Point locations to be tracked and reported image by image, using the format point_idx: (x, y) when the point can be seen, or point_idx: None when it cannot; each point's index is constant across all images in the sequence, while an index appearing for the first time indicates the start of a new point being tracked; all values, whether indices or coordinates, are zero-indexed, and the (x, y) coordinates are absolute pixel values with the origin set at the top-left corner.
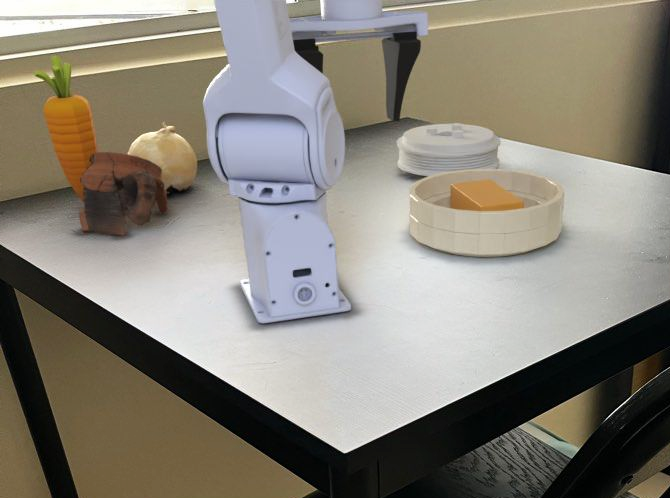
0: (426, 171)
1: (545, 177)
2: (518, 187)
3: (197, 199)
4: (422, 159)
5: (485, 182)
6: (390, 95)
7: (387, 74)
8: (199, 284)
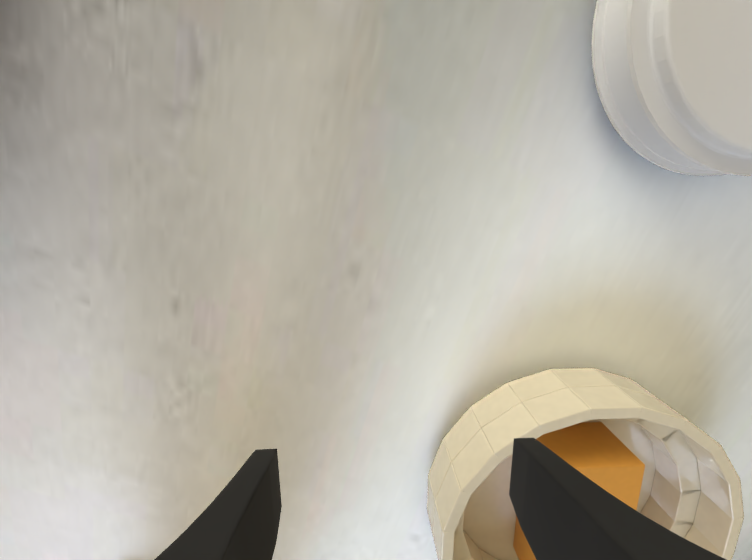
0: (628, 126)
1: (738, 512)
2: (692, 446)
3: (9, 19)
4: (642, 110)
5: (624, 483)
6: (548, 525)
7: (597, 552)
8: (52, 541)
